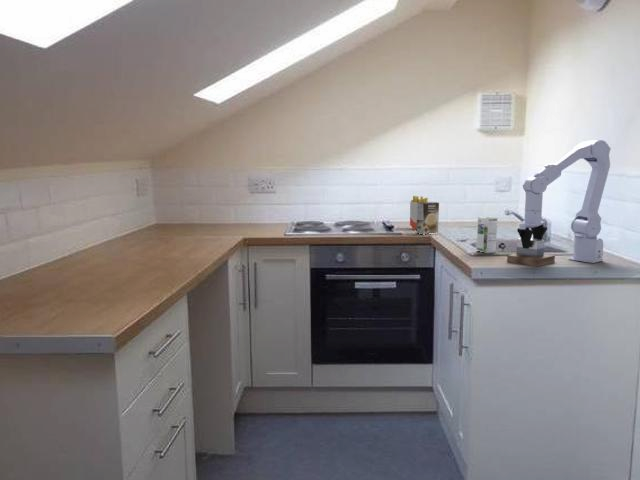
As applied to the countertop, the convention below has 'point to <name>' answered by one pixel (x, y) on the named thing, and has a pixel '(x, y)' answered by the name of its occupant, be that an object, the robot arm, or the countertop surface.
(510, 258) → the stand
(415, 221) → the french fries container
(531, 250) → the block
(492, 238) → the syrup box
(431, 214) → the coffee box
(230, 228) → the countertop surface
